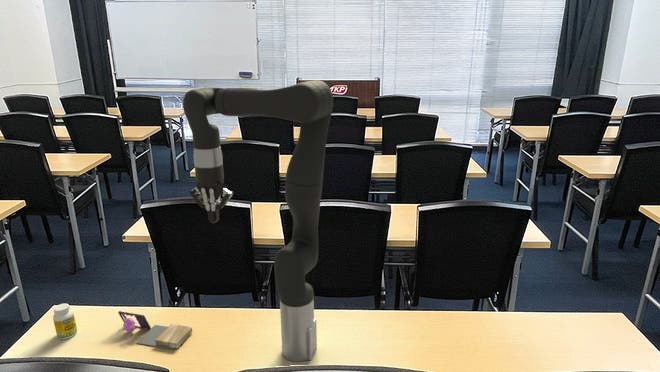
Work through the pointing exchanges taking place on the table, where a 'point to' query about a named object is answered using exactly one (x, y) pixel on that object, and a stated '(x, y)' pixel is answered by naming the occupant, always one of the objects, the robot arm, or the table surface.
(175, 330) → the tile
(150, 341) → the felt mat
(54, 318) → the supplement bottle
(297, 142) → the robot arm
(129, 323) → the purple toy case
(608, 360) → the table surface
